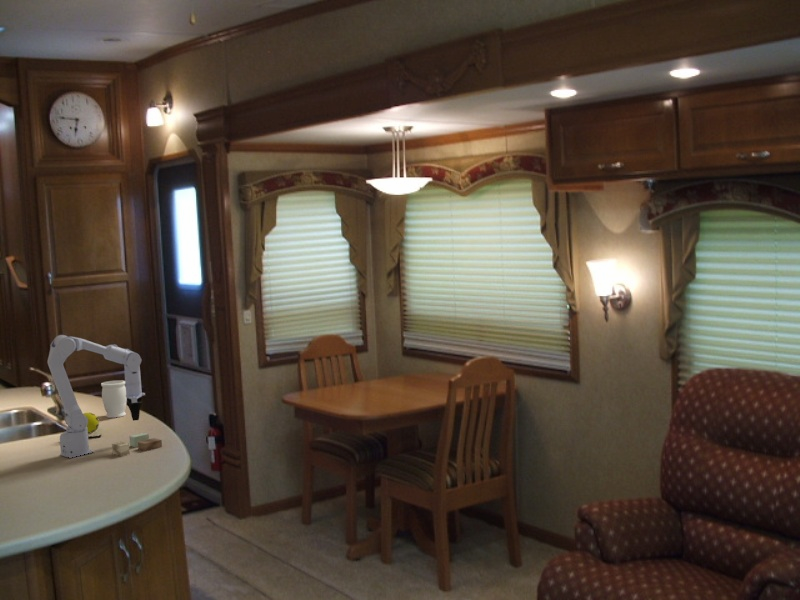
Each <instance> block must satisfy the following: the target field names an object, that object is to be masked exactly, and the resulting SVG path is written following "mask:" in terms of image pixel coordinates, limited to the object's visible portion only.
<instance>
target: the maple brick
mask: <svg viewBox="0 0 800 600" xmlns="http://www.w3.org/2000/svg"><path fill="white" fill-rule="evenodd" d="M111 448H112V449H111V450H112V455H114V454H116V455H115V456H118V455H119V456H118V457H124V456H123V455H125V456H128V455H127V454H129V455H130V453H131V452H130V443H126V442H124V441H118V442H113V443H111Z"/></svg>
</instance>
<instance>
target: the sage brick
mask: <svg viewBox="0 0 800 600" xmlns="http://www.w3.org/2000/svg"><path fill="white" fill-rule="evenodd" d="M148 439H150V437H149V433H145V432H141V433H138V434H133V435H129V447H131V446H132V447H133V448H138V442H140V441H144V440H148Z"/></svg>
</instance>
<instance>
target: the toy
mask: <svg viewBox="0 0 800 600" xmlns="http://www.w3.org/2000/svg"><path fill="white" fill-rule="evenodd" d="M83 414H84V415H85V416H86V417H87V419H88V424H87V426H86V427H87V430H88V435H89V434H90V436H91V437H90V438H93V437H96V435H91V434H92V433H94V432H95V431H97V429H98V428H99V426H100V419H99V417H98V416H97V415H96V414H95V413H92V412H84V413H83ZM98 435H99V436H98V437H101V436H102V434H98Z"/></svg>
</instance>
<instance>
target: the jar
mask: <svg viewBox="0 0 800 600" xmlns="http://www.w3.org/2000/svg"><path fill="white" fill-rule="evenodd" d="M100 386H101V387H102V389H101V400H102V403H103V407H104V410H105V412H106V415H105V417H106V418H110V419H115V418H116V417H117V418H121V417H124V416H126V415H127V413H126V408H127V402H128V401H127V398H126V386H125V380H123V379H121V380H120V379H119V380H109V381H108V380H107V381H103V382H101V383H100ZM117 418H116V419H117Z"/></svg>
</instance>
